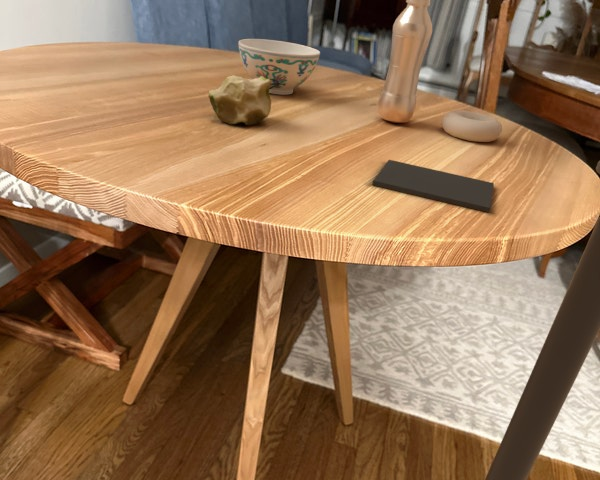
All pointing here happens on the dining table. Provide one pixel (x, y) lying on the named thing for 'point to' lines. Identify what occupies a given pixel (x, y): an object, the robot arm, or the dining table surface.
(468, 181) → the mat
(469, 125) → the donut
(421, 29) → the plastic bottle
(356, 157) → the dining table surface
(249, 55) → the chinaware
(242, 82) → the fruit
